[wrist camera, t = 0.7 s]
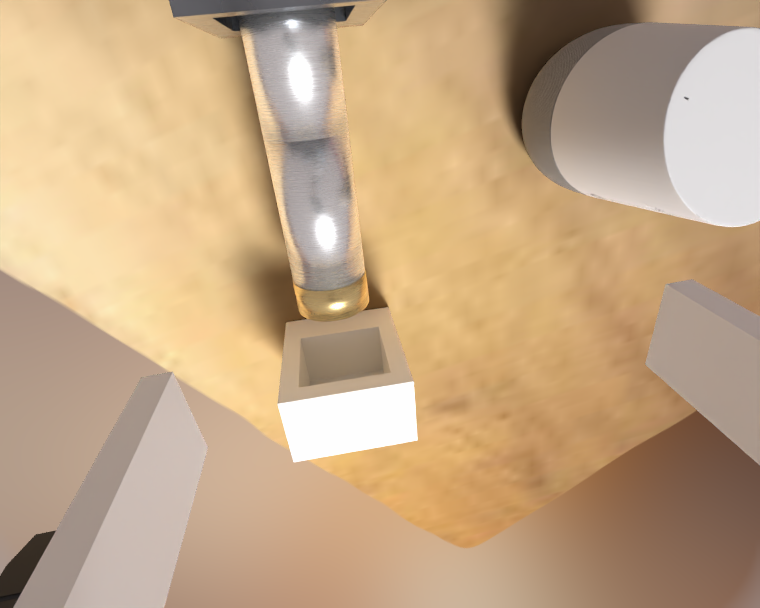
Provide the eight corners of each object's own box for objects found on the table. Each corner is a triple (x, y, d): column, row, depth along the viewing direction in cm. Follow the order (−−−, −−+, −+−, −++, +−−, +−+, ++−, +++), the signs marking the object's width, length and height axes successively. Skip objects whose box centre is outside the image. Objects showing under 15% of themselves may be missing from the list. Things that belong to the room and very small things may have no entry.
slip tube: (173, -318, 16) (128, -450, 12) (293, -321, 16) (288, -450, 12) (299, 292, 28) (297, 326, 24) (365, 283, 29) (373, 315, 25)
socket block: (286, 322, 33) (277, 403, 25) (388, 306, 34) (413, 381, 25) (297, 372, 35) (293, 462, 27) (393, 357, 36) (417, 440, 28)
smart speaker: (667, 69, 28) (939, 62, 16) (588, 198, 32) (762, 273, 20) (555, 2, 25) (781, -70, 13) (483, 151, 29) (608, 205, 17)
